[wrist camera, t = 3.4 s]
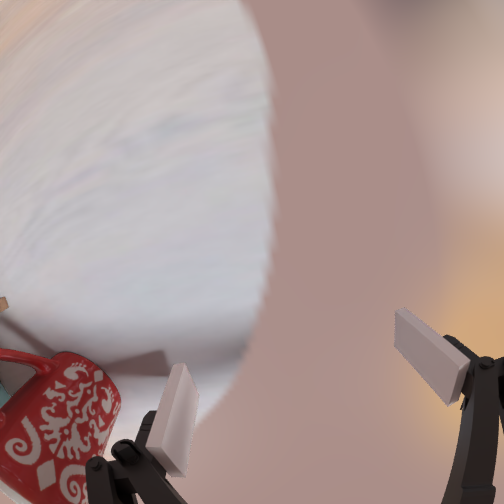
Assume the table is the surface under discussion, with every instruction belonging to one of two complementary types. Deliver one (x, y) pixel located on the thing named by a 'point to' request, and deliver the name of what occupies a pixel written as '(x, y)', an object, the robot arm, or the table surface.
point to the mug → (54, 428)
